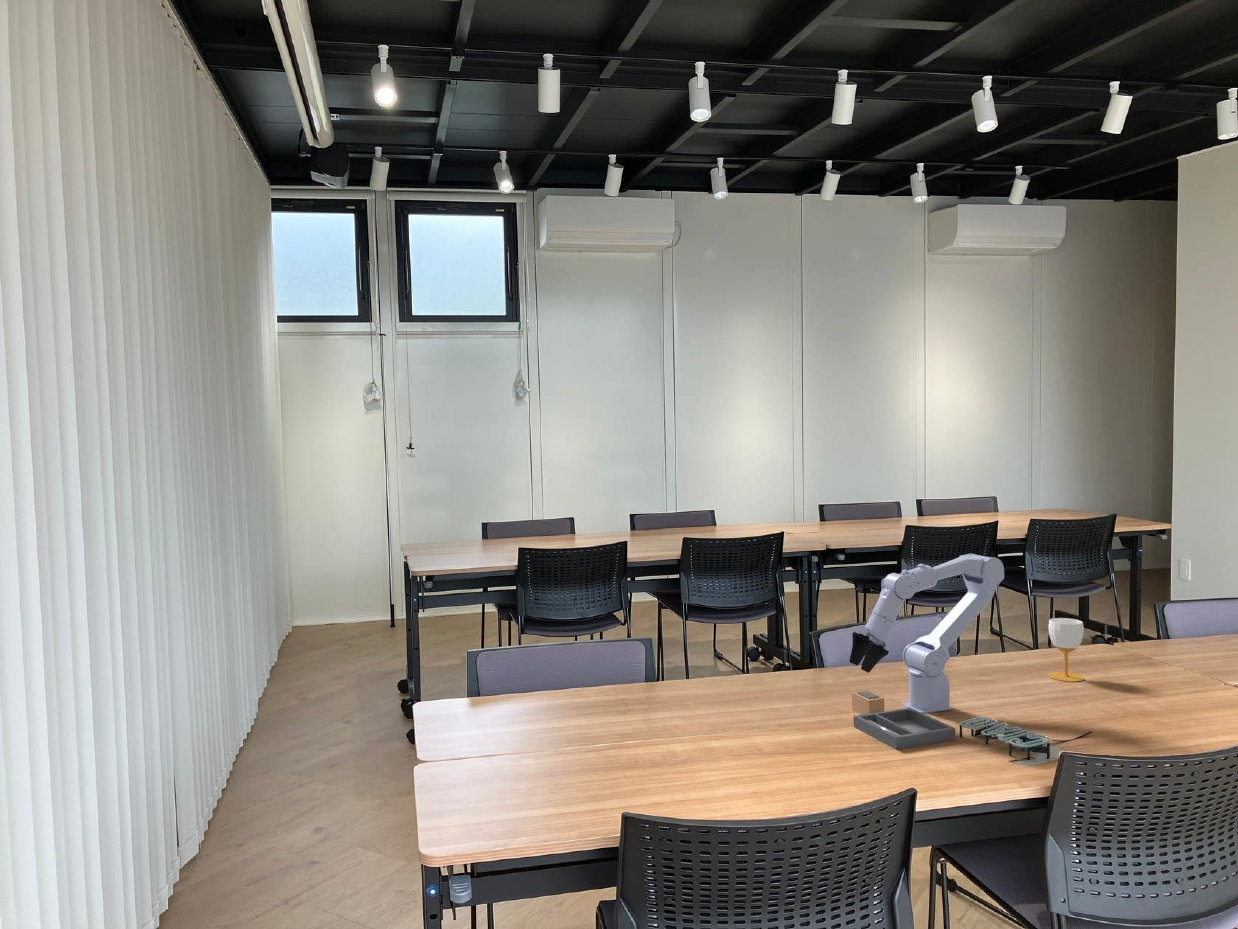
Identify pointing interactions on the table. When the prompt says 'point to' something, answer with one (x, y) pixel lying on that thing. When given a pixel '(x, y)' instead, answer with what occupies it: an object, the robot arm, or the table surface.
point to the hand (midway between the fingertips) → (859, 667)
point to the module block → (867, 702)
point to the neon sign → (1017, 740)
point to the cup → (1066, 643)
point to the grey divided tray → (905, 728)
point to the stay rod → (883, 727)
